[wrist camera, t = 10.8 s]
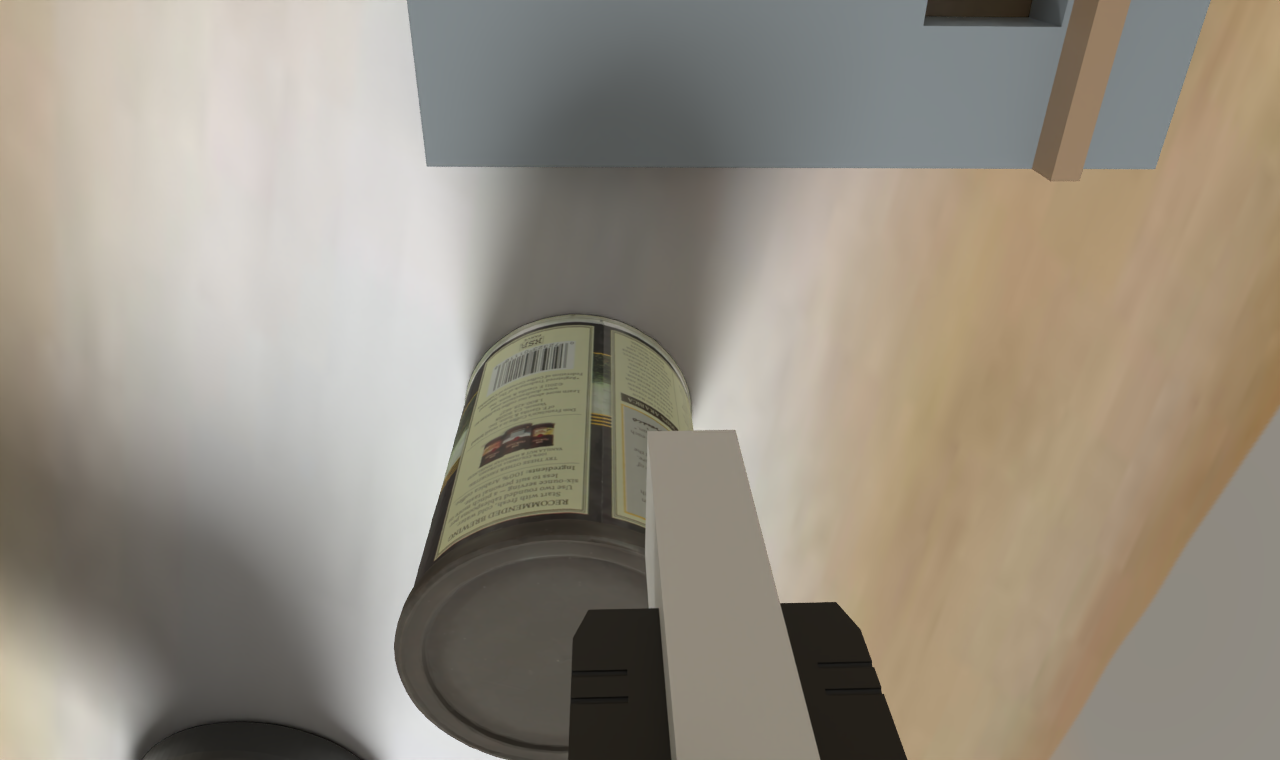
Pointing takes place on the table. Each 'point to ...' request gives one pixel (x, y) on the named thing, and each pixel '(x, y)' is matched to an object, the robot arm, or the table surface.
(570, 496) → the coffee can
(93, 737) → the table surface
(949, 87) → the deck
